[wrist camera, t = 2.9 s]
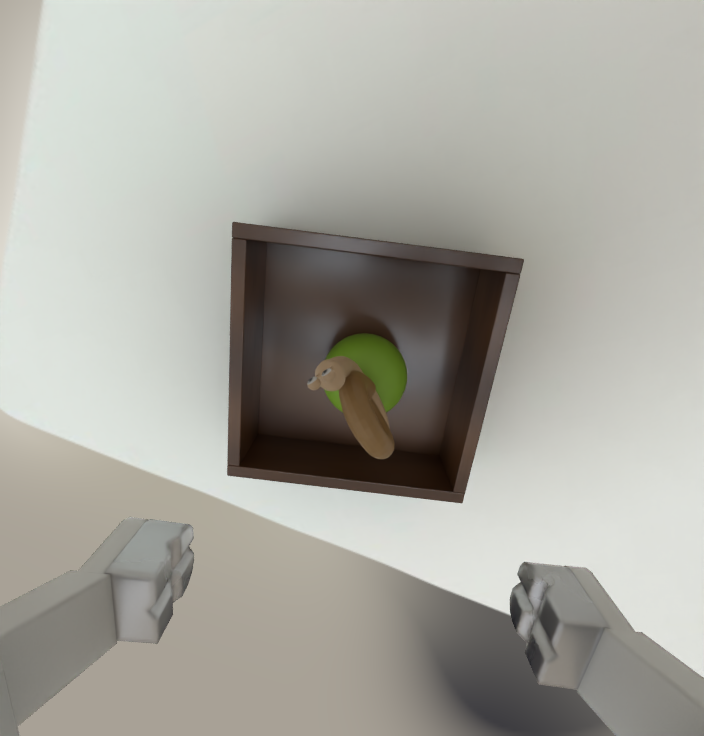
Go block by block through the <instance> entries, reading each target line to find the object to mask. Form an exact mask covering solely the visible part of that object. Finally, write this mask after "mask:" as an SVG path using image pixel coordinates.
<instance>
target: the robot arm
mask: <svg viewBox="0 0 704 736" xmlns="http://www.w3.org/2000/svg"><path fill="white" fill-rule="evenodd" d="M192 540H193V527H192V526H191V525H189V524H182V523H175V522H167V521H160V520H153V519H150V520H148V519H142V518H135V517H128V518H127V519H124V520H123V521H122V522H121V523H120V524H119V525H118V526H117V527H116V529H115V530H114V531H113V532H112V533H111V534H110V536H108V537H107V539H106V540H105V541H104V542H103V543H102V544H101V545H100V547H99V548H98V549H97V550H96V551H95V552H94V553H93V554H92V556H91V557H90V558H89V559H88V560H87V561H86V562H85V563H84V565H82V567H81V568H80V569H79V570H78V571H73V570H70V571H68V572H66V573H65V574H63V575H61V576H59V577H57V578H55V579H53V580H51V581H49V582H47V583H45V584H43V585H41V586H39V587H37V588H35V589H33V590H31V591H30V592H28V593H26V594H24V595H22V596H20V597H18V598H16V599H14V600H12V601H10V602H8V603H6V604H4V605H2V606H0V736H20V735H19V731H18V726H19V725H20V724H21V723H23V722H24V721H25V720H26V719H27V718H28V717H30V716H31V715H32V714H33V713H34V712H36V711H37V710H38V709H39V708H40V707H42V706H43V705H44V704H45V703H46V702H47V701H49V700H50V699H51V698H52V697H53V696H55V695H56V694H57V693H58V692H59V691H61V690H62V689H63V688H64V687H65V686H67V685H68V684H69V683H70V682H71V681H73V680H74V679H75V678H76V677H77V676H79V675H80V674H81V673H82V672H83V671H85V669H87V668H88V667H89V666H90V665H92V664H93V663H94V662H95V661H96V660H98V659H99V658H100V657H101V656H102V655H104V654H105V653H106V652H107V651H108V650H109V649H111V648H112V647H113V646H114V645H115V644H117V641H129V642H141V643H155V644H157V643H158V642H159V640H160V638H161V636H162V634H163V632H164V630H165V628H166V626H167V624H168V623H169V621H170V619H171V617H172V615H173V602H175V601H176V600H178V599H179V598H180V597H182V596H183V593H184V591H185V589H186V588H187V585H188V583H189V580H190V576H191V573H192V569H193V563H194V553H193V551H192V550H191V549H190V547H189V545H190V543H191V542H192ZM518 576H519V578H520V581H521V582H520V583H519V584H518V585H516V586H515V587H514V588H513V589H512V593H511V597H510V613H511V617H512V622H513V624H514V627H515V629H516V632H517V633H518V634H519V635H520V636H521V637H522V638H523V639H524V640H525V641H526V642H527V647H526V650H525V654H526V655H527V658H528V661H529V663H530V665H531V668H532V670H533V673H534V675H535V677H536V679H537V682H538V684H542V685H549V686H556V687H563V688H570V689H577V692H578V694H579V695H580V696H581V697H582V698H583V699H584V700H585V701H586V703H587V704H588V705H589V706H590V707H591V708H592V709H593V711H594V712H595V713H596V714H597V715H598V716H599V717H600V719H601V720H602V721H603V722H604V723H605V724H606V725H607V726H608V728H609V729H610V730H611V731H612V732H613V733H614V734H615V736H704V678H703V677H702V676H700V675H699V674H698V673H696V672H695V671H693V670H692V669H691V668H689V667H688V666H687V665H685V664H684V663H683V662H681V661H680V660H679V659H677V658H676V657H675V656H673V655H672V654H670V653H669V652H668V651H666V650H665V649H664V648H662V647H661V646H660V645H658V644H657V643H656V642H654V641H653V640H652V639H650V638H649V637H647V636H646V635H645V634H643V633H642V632H635V631H634V629H633V628H632V627H631V625H630V624H629V622H628V621H627V620H626V618H625V617H624V616H623V614H622V613H621V612H620V610H619V609H618V607H617V606H616V605H615V603H614V602H613V601H612V599H611V598H610V597H609V595H608V594H607V592H606V591H605V590H604V588H603V587H602V586H601V584H600V583H599V582H598V580H597V579H596V577H595V576H594V575H593V573H592V572H591V571H589V570H588V569H587V568H583V567H572V566H560V565H550V564H540V563H530V562H524V563H523V564H522V565H521V566H520V568H519V571H518Z"/></svg>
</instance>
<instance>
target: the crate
mask: <svg viewBox="0 0 704 736" xmlns="http://www.w3.org/2000/svg"><path fill="white" fill-rule="evenodd" d="M232 237H233V238H232V263H231V313H230V364H229V415H228V466H227V475H228V476H236V477H245V478H253V479H262V480H270V481H279V482H287V483H295V484H304V485H312V486H321V487H329V488H338V489H346V490H354V491H363V492H371V493H380V494H388V495H396V496H405V497H413V498H422V499H430V500H439V501H447V502H455V503H463V499H464V495H465V491H466V487H467V483H468V479H469V475H470V471H471V467H472V463H473V459H474V455H475V451H476V447H477V444H478V440H479V436H480V432H481V428H482V424H483V420H484V416H485V412H486V408H487V404H488V400H489V396H490V392H491V388H492V384H493V381H494V377H495V373H496V369H497V365H498V361H499V357H500V353H501V349H502V345H503V341H504V337H505V333H506V329H507V325H508V322H509V318H510V314H511V310H512V306H513V302H514V298H515V294H516V290H517V286H518V282H519V278H520V273H521V270H522V266H523V262H524V259H520V258H512V257H505V256H497V255H489V254H481V253H473V252H465V251H458V250H450V249H442V248H434V247H426V246H418V245H411V244H403V243H395V242H387V241H379V240H371V239H364V238H356V237H348V236H340V235H332V234H324V233H317V232H309V231H301V230H293V229H285V228H277V227H270V226H262V225H254V224H246V223H238V222H233V223H232ZM362 333H368V334H374V335H378V336H381V337H383V338H385V339H387V340H388V341H390V342H391V343H392V344H393V345H394V346H395V347H396V348H397V349H398V350H399V352H400V353H401V355H402V357H403V359H404V361H405V364H406V368H407V384H406V388H405V391H404V393H403V395H402V397H401V399H400V400H399V402H398V403H397V404H396V405H395V406H394V407H393V408H392V409H391V410H390V411H388V412H386V414H387V417H388V421H389V427H390V431H391V433H392V436H393V439H394V451H393V453H392V454H391V455H390V456H389V457H388V458H386V459H376V458H374V457H372V456H371V455H369V454H368V453H367V452H366V451H365V449H364V448H363V447H362V446H361V444H360V443H359V442H358V440H357V439H356V438H355V436H354V434H353V433H352V431H351V429H350V428H349V426H348V424H347V421H346V419H345V417H344V414H343V412H341V411H340V410H338V409H337V408H336V407H335V406H334V405H333V404H332V403H331V401H330V400H329V398H328V397H327V395H326V393H325V390H324V389H323V388H322V387H320V388H319V389H317V390H311V389H309V388H308V386H307V382H308V380H309V379H310V378H312V377H315V370H316V368H317V366H318V365H319V364H320V363H321V362H322V361H324V360H325V359H326V357H327V355H328V353H329V352H330V350H331V349H332V348H333V347H334V346H335V345H336V344H337V343H338V342H340V341H341V340H343V339H344V338H346V337H349V336H351V335H355V334H362Z"/></svg>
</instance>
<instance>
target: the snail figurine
mask: <svg viewBox="0 0 704 736" xmlns="http://www.w3.org/2000/svg"><path fill="white" fill-rule="evenodd" d="M406 384H407V368H406V364H405V361H404V359H403V357H402V355H401V353H400V352H399V350H398V349H397V348H396V347H395V346H394V345H393V344H392V343H391V342H390V341H388V340H387V339H385V338H383V337H381V336H378V335H374V334H368V333H362V334H355V335H351V336H349V337H346V338H344V339H343V340H341V341H340V342H338V343H337V344H336V345H335V346H334V347H333V348H332V349H331V350H330V352H329V353H328V355H327V357H326V359H325V360H324V361H322V362H321V363H320V364H319V365H318V366H317V368H316V370H315V377H312V378H310V379H309V380H308V382H307V386H308V388H309V389H311V390H317V389H319V388H320V387H322V388H323V389H324V390H325V393H326V395H327V397H328V398H329V400H330V401H331V403H332V404H333V405H334V406H335V407H336V408H337V409H338V410H340V411H341V412H343V414H344V417H345V419H346V421H347V424H348V426H349V428H350V429H351V431H352V433H353V434H354V436H355V438H356V439H357V440H358V442H359V443H360V444H361V446H362V447H363V448H364V449H365V451H366V452H367V453H368V454H369V455H371V456H372V457H374V458H376V459H386V458H388V457H389V456H390V455H391V454H392V453H393V451H394V439H393V436H392V433H391V431H390V427H389V421H388V417H387V414H386V412H388V411H390V410H391V409H392V408H393V407H394V406H395V405H396V404H397V403H398V402H399V400H400V399H401V397H402V395H403V393H404V391H405V388H406Z"/></svg>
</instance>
